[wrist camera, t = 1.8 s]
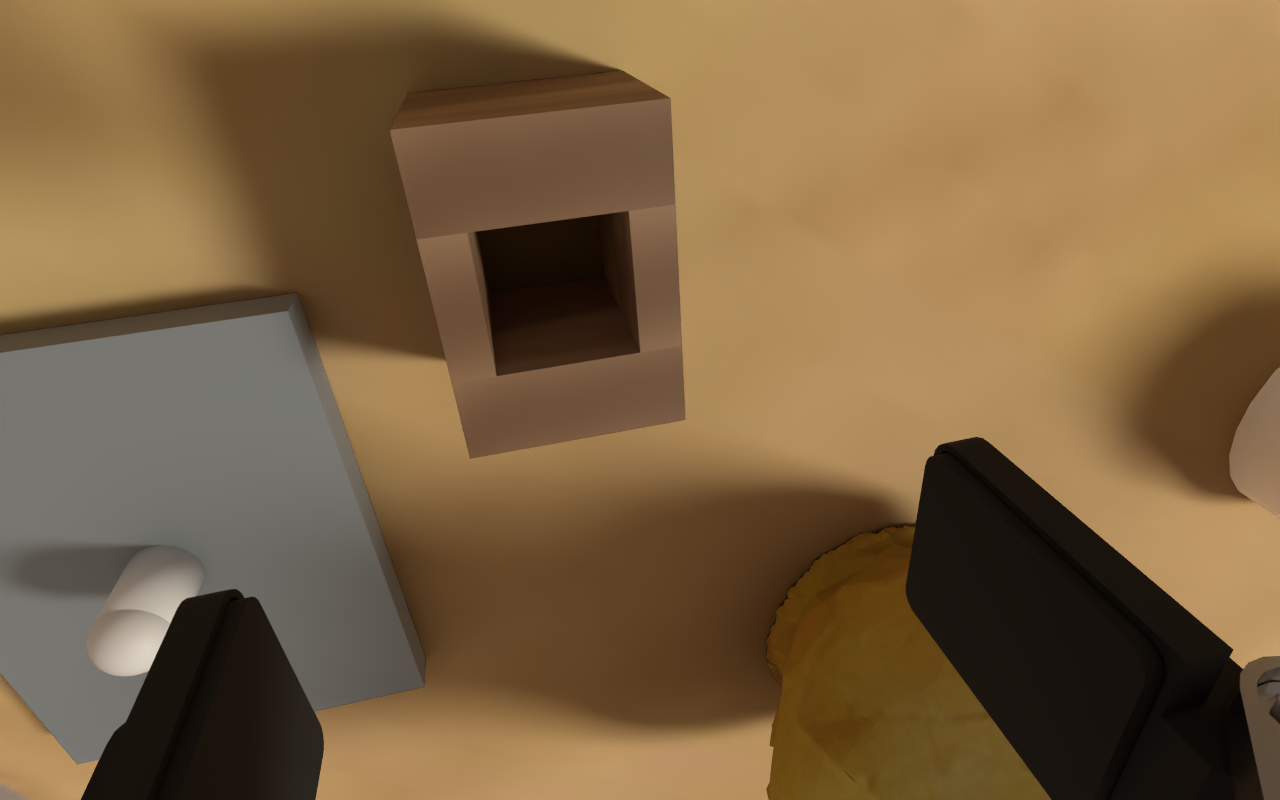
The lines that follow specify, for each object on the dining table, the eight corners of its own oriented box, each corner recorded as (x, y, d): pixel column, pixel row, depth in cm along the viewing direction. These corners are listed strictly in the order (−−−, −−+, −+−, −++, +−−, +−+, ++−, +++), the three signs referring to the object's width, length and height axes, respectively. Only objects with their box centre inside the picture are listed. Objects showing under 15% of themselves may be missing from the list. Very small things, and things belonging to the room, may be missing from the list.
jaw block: (407, 93, 21) (389, 130, 16) (622, 70, 22) (670, 98, 17) (469, 363, 25) (470, 458, 20) (642, 335, 26) (685, 419, 21)
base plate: (-198, 363, 21) (-395, 477, 16) (297, 292, 23) (253, 375, 18) (93, 731, 30) (23, 873, 25) (426, 659, 32) (418, 777, 27)
